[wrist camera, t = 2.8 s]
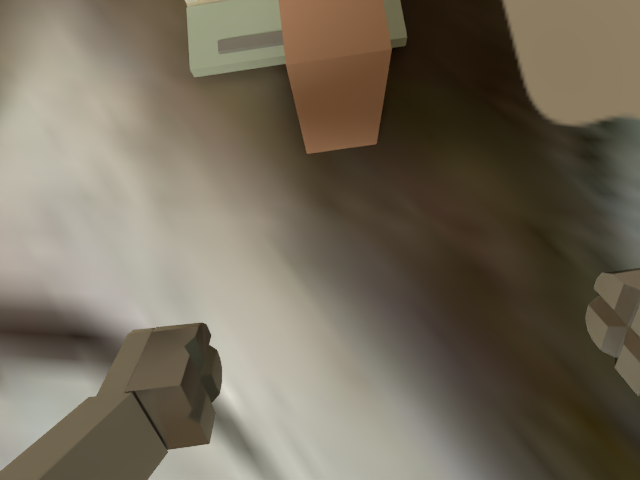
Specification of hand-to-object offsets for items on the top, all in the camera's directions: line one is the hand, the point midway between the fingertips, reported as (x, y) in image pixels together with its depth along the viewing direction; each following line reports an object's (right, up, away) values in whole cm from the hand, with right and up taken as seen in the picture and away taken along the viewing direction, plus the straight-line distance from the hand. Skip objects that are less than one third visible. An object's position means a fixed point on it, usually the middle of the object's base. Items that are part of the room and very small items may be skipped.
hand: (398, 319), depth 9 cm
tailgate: (-4, +18, +19) cm, 26 cm away
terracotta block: (-1, +10, +18) cm, 20 cm away
